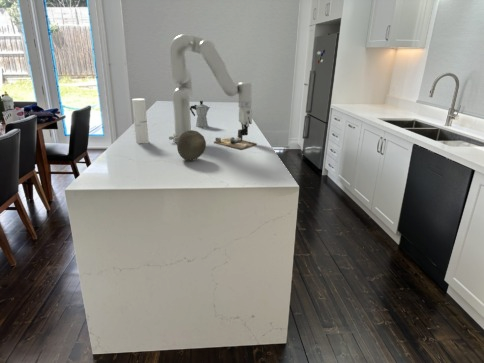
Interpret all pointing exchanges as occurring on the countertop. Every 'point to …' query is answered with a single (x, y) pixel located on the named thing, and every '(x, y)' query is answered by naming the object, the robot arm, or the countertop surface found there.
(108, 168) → the countertop surface
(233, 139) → the swing bar
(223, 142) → the plate
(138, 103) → the cylindrical container
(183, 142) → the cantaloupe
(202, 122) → the coffee maker
